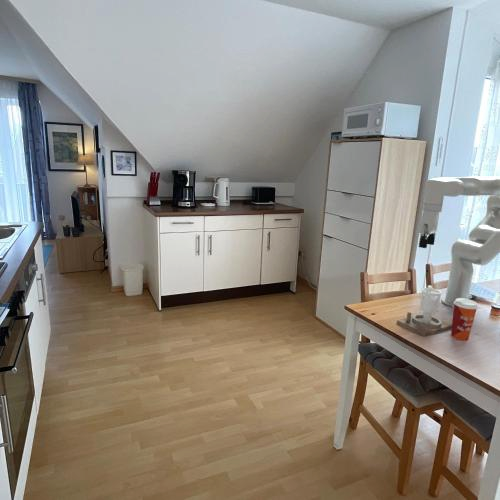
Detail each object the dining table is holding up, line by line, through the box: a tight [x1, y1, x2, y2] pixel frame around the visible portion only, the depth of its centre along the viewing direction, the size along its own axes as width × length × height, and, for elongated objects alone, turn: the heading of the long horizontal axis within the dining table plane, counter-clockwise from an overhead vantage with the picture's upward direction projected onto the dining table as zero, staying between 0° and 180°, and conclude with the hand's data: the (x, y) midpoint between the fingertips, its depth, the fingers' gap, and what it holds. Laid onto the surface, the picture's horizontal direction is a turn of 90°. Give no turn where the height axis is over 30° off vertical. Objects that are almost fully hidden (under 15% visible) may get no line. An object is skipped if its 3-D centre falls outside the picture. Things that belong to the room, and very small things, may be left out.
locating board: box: [396, 311, 452, 337], centre depth 151 cm, size 20×13×6 cm, turn 118°
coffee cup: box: [450, 298, 479, 342], centre depth 141 cm, size 8×8×15 cm
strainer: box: [418, 284, 442, 323], centre depth 150 cm, size 7×7×15 cm
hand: (426, 245), depth 162 cm, fingers open, 9 cm apart
